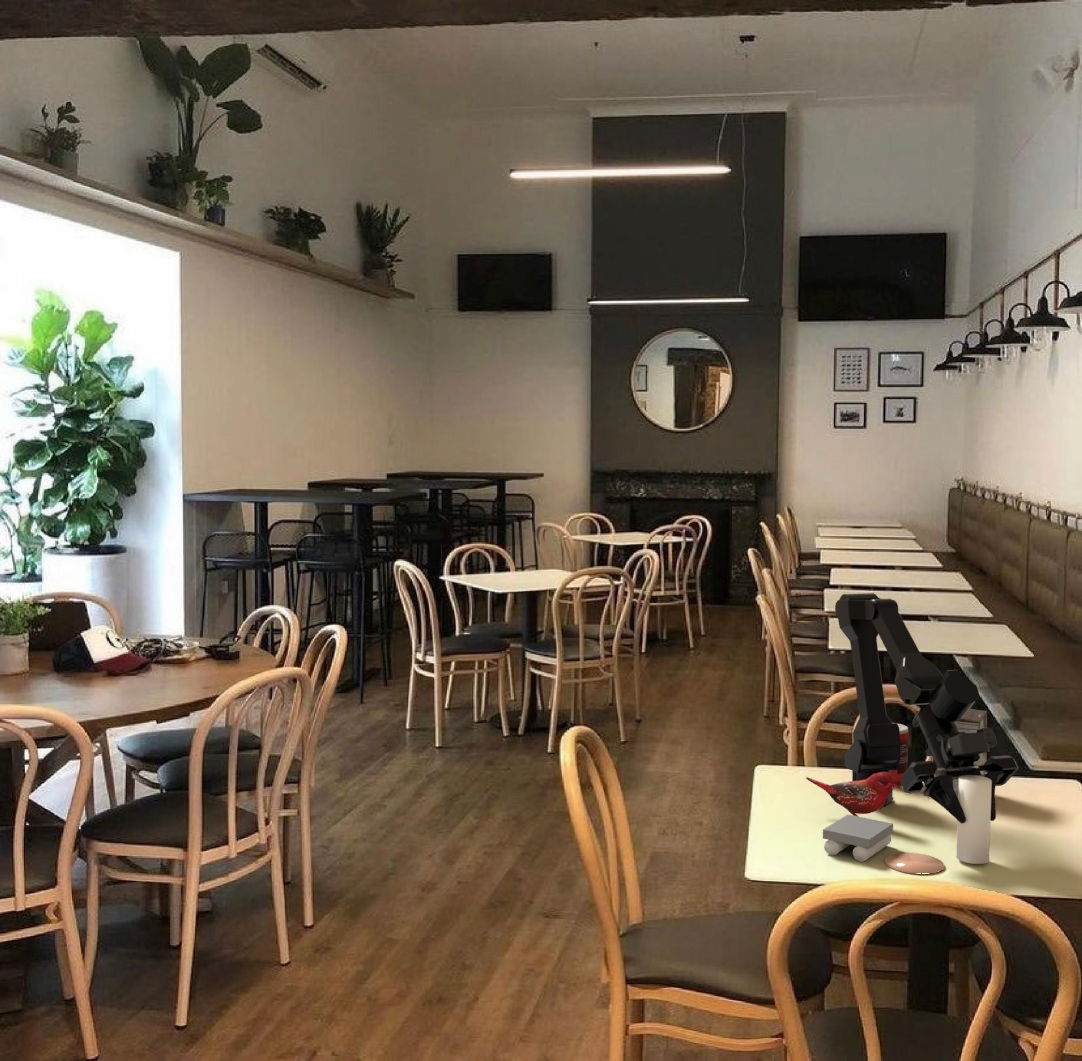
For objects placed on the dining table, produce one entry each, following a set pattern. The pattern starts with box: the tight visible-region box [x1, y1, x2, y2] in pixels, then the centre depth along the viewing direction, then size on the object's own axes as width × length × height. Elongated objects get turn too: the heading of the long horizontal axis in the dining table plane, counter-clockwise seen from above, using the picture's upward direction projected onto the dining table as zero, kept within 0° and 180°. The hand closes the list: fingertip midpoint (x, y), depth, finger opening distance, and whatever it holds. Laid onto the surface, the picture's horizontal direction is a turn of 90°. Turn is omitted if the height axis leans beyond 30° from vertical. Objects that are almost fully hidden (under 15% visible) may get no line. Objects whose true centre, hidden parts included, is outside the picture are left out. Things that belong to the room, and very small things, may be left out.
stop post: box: [955, 775, 992, 865], centre depth 197 cm, size 5×5×13 cm
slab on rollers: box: [822, 814, 894, 863], centre depth 203 cm, size 8×10×4 cm
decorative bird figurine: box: [805, 772, 898, 817], centre depth 218 cm, size 3×18×10 cm, turn 50°
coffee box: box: [953, 708, 988, 798], centre depth 232 cm, size 9×6×16 cm
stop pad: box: [884, 852, 945, 875], centre depth 196 cm, size 9×9×1 cm
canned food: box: [890, 722, 909, 786], centre depth 243 cm, size 8×8×11 cm
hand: (978, 821), depth 195 cm, fingers closed on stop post, 5 cm apart
